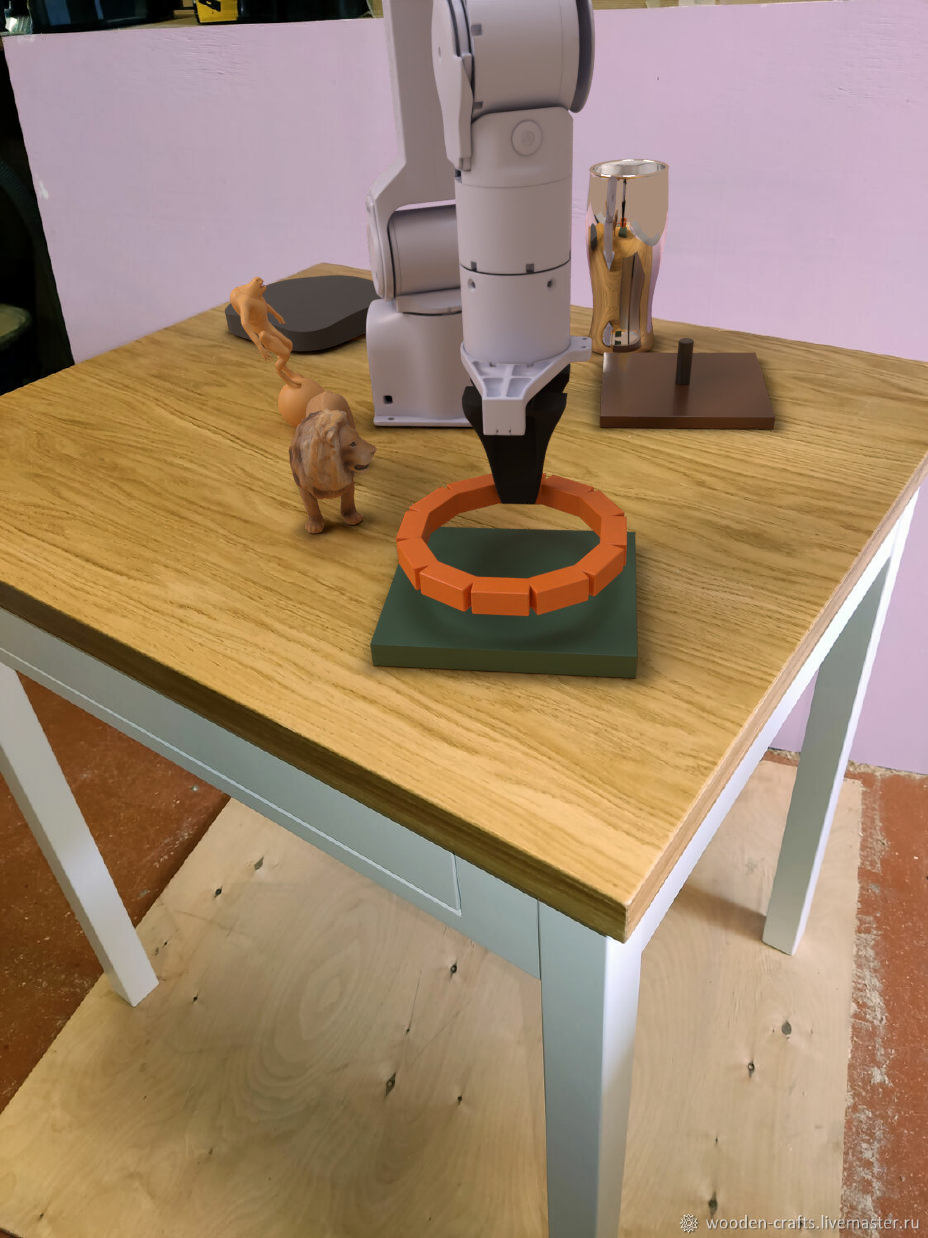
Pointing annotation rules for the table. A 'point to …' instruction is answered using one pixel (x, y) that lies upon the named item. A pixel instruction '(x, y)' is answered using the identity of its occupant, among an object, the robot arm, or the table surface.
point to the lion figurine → (328, 458)
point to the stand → (508, 643)
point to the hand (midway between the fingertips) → (520, 493)
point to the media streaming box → (315, 310)
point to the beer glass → (625, 250)
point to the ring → (512, 592)
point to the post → (684, 390)
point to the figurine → (274, 349)
